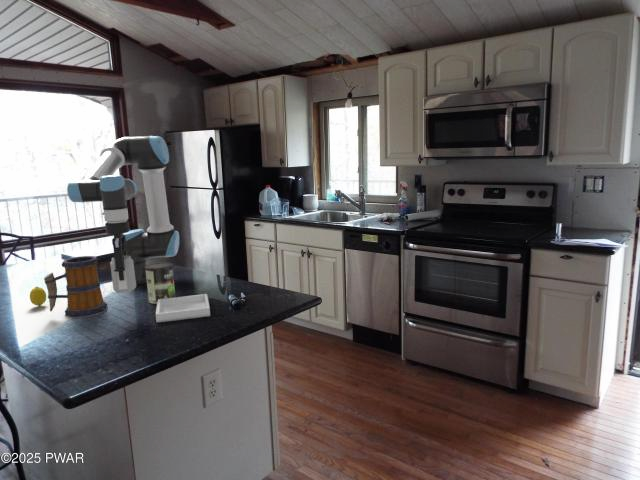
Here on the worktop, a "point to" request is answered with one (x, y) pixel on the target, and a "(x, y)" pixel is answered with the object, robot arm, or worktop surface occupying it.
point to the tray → (182, 308)
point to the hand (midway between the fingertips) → (124, 285)
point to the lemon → (37, 296)
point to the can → (129, 275)
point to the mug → (78, 288)
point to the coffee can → (160, 281)
